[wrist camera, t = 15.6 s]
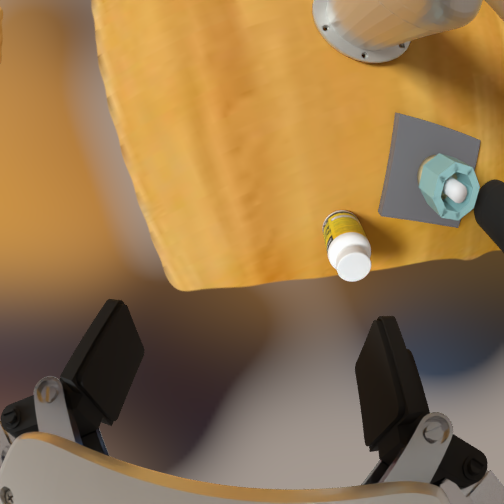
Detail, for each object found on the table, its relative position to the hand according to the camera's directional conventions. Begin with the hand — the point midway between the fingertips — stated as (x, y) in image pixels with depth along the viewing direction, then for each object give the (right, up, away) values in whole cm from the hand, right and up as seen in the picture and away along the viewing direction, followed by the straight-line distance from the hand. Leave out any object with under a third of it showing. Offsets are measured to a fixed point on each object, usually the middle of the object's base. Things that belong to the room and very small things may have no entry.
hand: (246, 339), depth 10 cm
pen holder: (+39, +11, +22) cm, 46 cm away
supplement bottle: (+13, +7, +28) cm, 31 cm away
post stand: (+25, +14, +22) cm, 36 cm away
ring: (+24, +12, +19) cm, 33 cm away
